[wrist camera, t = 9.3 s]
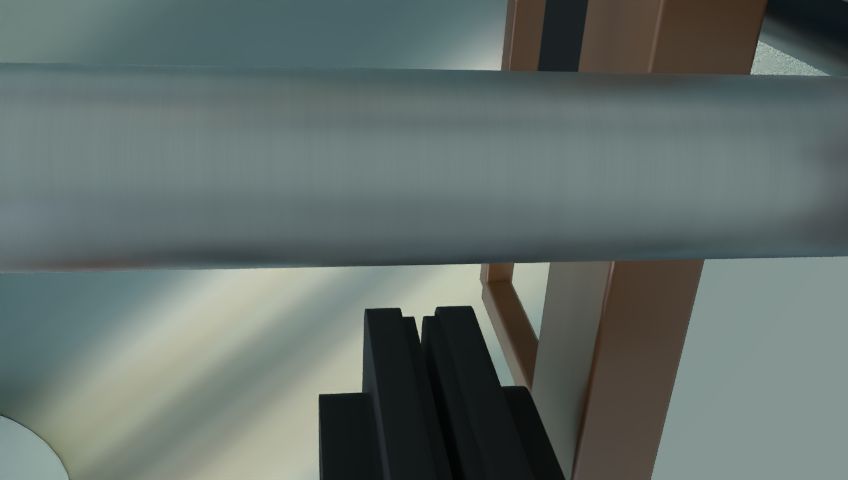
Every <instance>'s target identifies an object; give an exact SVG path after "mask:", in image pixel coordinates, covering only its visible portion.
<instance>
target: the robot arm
mask: <svg viewBox="0 0 848 480" xmlns="http://www.w3.org/2000/svg"><path fill="white" fill-rule="evenodd" d="M319 472H320V480H566V479H565V477H564V474H563V472H562V469H561V467H560V464H559V462H558V460H557V457H556V455H555V452H554V450H553V447H552V445H551V442H550V440H549V437H548V435H547V433H546V430H545V428H544V425H543V423H542V420H541V418H540V415H539V413H538V410H537V408H536V406H535V403H534V401H533V398H532V396H531V394H530V392H529V390H528V388H527V387H525V386H502V387H501V385H500V382H499V379H498V376H497V374H496V371H495V368H494V365H493V363H492V360H491V357H490V354H489V351H488V349H487V346H486V343H485V340H484V338H483V335H482V332H481V329H480V327H479V324H478V321H477V318H476V315H475V313H474V310H473V308H472V306H446V307H437V308H436V310H435V315H434V316H424V317H423V321H422V334H421V343H420V339H419V335H418V331H417V327H416V322H415V319H414V317H402V312H401V309H400V308H375V309H365V314H364V344H363V382H362V393H342V394H319Z"/></svg>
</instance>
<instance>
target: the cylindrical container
mask: <svg viewBox="0 0 848 480" xmlns="http://www.w3.org/2000/svg"><path fill="white" fill-rule="evenodd" d="M0 480H69V478H68V474H67V472H66V470H65V468H64V466H63V464H62V462H61V460H60V458H59V457H58V456H57V455H56V454H55V453H54V451H53V450H52V449H51V448H50V447H49V446H48V444H47V443H46V442H44V441H43V440H42V439H41V438H39V437H38V436H37V435H36V434H34V433H33V432H32V431H30V430H29V429H27V428H25V427H23V426H22V425H20V424H18V423H16V422H15V421H13V420H10V419H8V418H5V417H3V416H0Z"/></svg>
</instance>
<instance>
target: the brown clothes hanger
mask: <svg viewBox="0 0 848 480" xmlns="http://www.w3.org/2000/svg"><path fill="white" fill-rule="evenodd" d="M844 1H847V2H848V0H844ZM767 3H768V0H588V7H587V14H586V21H585V28H584V34H583V41H582V48H581V55H580V62H579V69H578V72H616V73H677V74H738V75H750V72H751V68H752V64H753V60H754V56H755V52H756V47H757V43H758V39H759V35H760V31H761V27H762V23H763V19H764V15H765V11H766V7H767ZM545 6H546V0H508V7H507V16H506V26H505V36H504V46H503V56H502V66H501V71H538V64H539V55H540V47H541V39H542V31H543V23H544V14H545ZM704 260H705V259H688V260H639V261H591V262H550V268H549V275H548V282H547V288H546V295H545V302H544V309H543V316H542V323H541V330H540V336H539V340H538V338H537V336H536V334H535V332H534V330H533V328H532V325H531V323H530V321H529V319H528V317H527V315H526V312H525V310H524V308H523V306H522V304H521V302H520V300H519V297H518V295H517V293H516V291H515V289H514V287H513V284H512V276H513V268H514V263H493V264H481V273H480V281H481V283H482V286H483V289H482V300H483V302H484V305H485V308H486V310H487V313H488V315H489V318H490V320H491V323H492V326H493V328H494V331H495V333H496V336H497V338H498V341H499V344H500V346H501V349H502V351H503V354H504V356H505V359H506V362H507V364H508V367H509V369H510V372H511V375H512V377H513V380H514V382H515V385H516V386H525V387H527V388H528V390H529V392H530V394H531V396H532V398H533V401H534V403H535V406H536V408H537V410H538V413H539V415H540V418H541V420H542V423H543V425H544V428H545V430H546V433H547V435H548V437H549V440H550V442H551V445H552V447H553V450H554V452H555V455H556V457H557V460H558V462H559V464H560V467H561V469H562V472H563V474H564V477H565V479H566V480H651V476H652V472H653V468H654V464H655V460H656V456H657V452H658V447H659V443H660V439H661V435H662V431H663V427H664V423H665V419H666V415H667V410H668V407H669V402H670V398H671V394H672V390H673V386H674V382H675V378H676V374H677V370H678V366H679V362H680V357H681V353H682V349H683V345H684V341H685V337H686V333H687V329H688V325H689V321H690V317H691V313H692V308H693V304H694V300H695V296H696V292H697V288H698V284H699V280H700V276H701V272H702V267H703V264H704Z"/></svg>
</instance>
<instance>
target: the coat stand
mask: <svg viewBox="0 0 848 480" xmlns="http://www.w3.org/2000/svg"><path fill="white" fill-rule="evenodd" d="M587 7H588V0H546V6H545V14H544V23H543V31H542V39H541V47H540V55H539V64H538V71H493V70H432V69H370V68H309V67H248V66H186V65H125V64H64V63H3V62H0V274H7V273H55V272H104V271H153V270H201V269H250V268H299V267H347V266H396V265H445V264H493V263H542V262H591V261H639V260H688V259H734V258H779V257H781V258H782V257H783V258H784V257H833V256H848V2H847V1H844V0H768V3H767V7H766V11H765V15H764V19H763V23H762V27H761V31H760V35H759V39H758V40H759V41H761V42H763V43H765V44H767V45H769V46H771V47H773V48H775V49H777V50H780V51H782V52H784V53H786V54H788V55H790V56H792V57H794V58H796V59H798V60H800V61H802V62H804V63H806V64H808V65H810V66H812V67H814V68H816V69H818V70H821V71H823V72H825V73H827V74H829V75H831V76H800V75H738V74H677V73H616V72H578V69H579V62H580V55H581V48H582V41H583V34H584V28H585V21H586V14H587Z"/></svg>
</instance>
